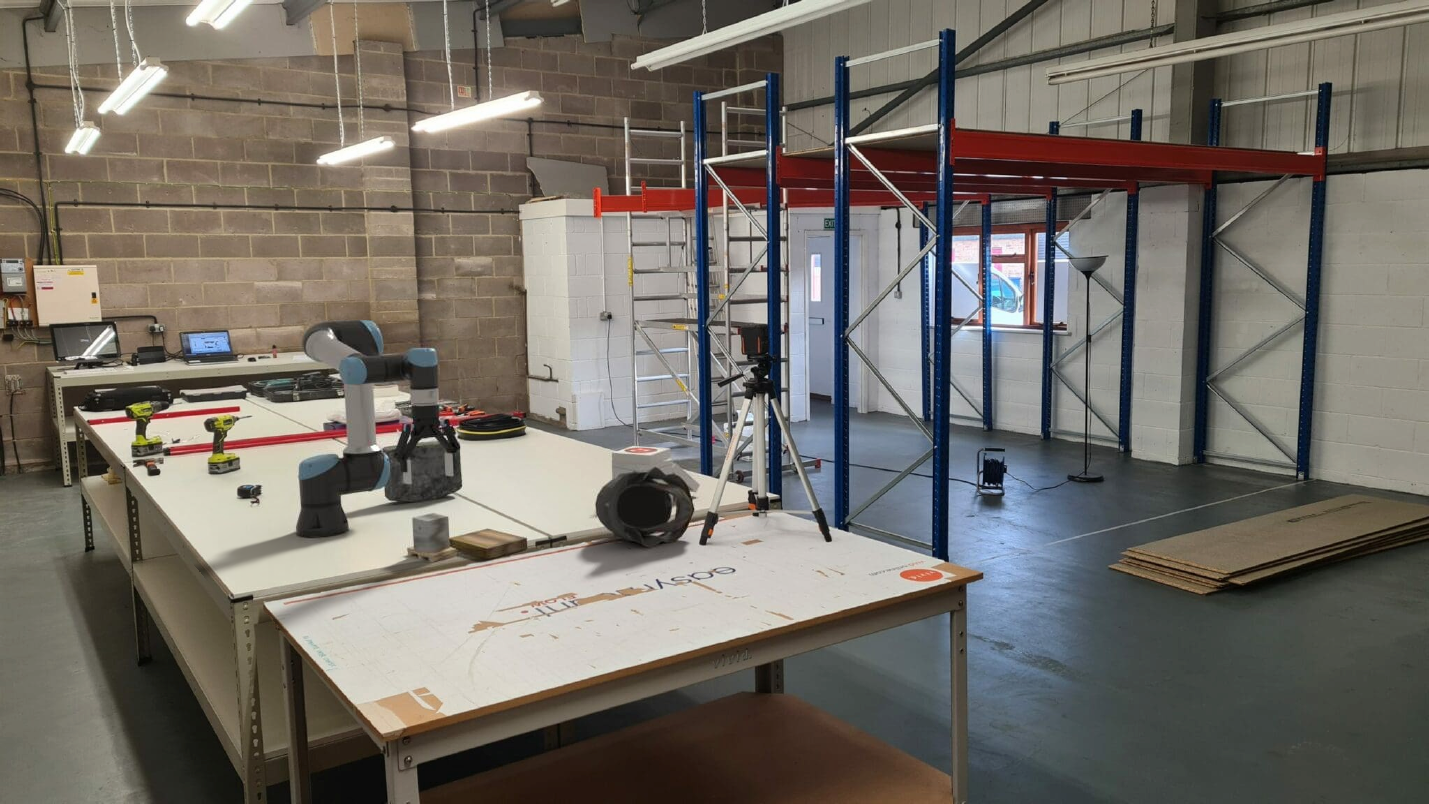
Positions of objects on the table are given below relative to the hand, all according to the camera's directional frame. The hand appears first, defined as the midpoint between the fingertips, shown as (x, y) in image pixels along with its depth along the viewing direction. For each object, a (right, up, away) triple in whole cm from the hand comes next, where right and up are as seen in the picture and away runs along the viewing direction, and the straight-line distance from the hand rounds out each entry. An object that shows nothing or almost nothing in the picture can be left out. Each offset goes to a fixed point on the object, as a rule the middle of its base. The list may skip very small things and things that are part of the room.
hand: (429, 479), depth 273 cm
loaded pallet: (0, -22, +3) cm, 22 cm away
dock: (+14, -21, +9) cm, 27 cm away
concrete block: (-23, -13, +73) cm, 78 cm away
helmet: (+58, -19, +18) cm, 63 cm away
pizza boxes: (+58, -13, +71) cm, 93 cm away
